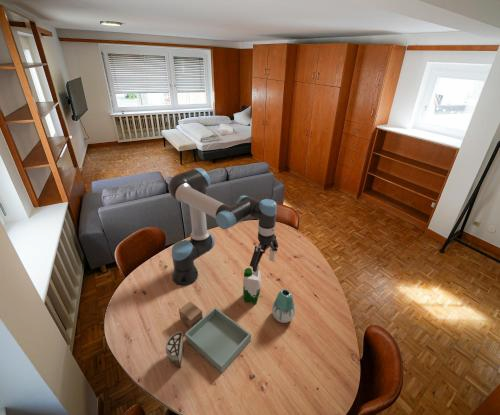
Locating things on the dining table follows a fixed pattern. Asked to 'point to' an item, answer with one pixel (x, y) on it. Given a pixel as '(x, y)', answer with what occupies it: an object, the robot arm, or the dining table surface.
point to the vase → (283, 306)
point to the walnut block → (190, 314)
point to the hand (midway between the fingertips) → (263, 267)
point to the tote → (218, 339)
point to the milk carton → (251, 286)
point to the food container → (175, 349)
